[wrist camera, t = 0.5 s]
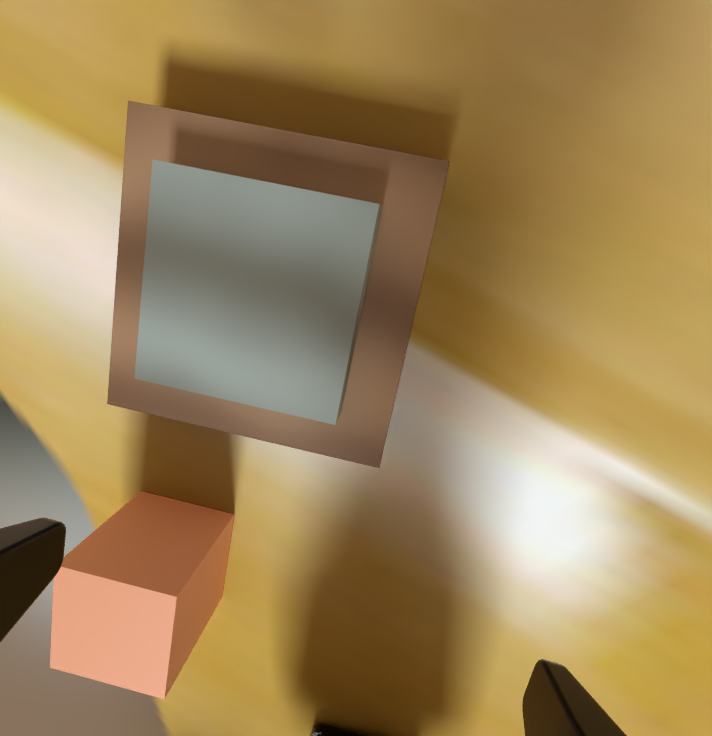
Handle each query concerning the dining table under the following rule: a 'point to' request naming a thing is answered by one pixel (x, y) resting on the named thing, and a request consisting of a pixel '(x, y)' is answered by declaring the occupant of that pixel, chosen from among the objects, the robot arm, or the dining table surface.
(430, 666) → the dining table surface
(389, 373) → the plinth
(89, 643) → the terracotta brick
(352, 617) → the dining table surface
